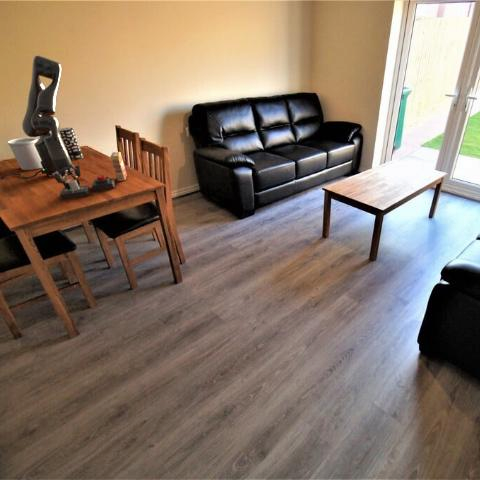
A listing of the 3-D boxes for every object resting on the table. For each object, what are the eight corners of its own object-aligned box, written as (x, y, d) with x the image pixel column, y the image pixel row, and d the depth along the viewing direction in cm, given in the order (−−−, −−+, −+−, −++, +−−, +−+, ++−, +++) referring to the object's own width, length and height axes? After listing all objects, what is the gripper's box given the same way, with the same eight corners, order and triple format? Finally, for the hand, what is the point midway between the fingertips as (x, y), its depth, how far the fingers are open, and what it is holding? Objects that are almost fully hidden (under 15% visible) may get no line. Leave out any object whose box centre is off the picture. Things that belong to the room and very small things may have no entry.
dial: (73, 191, 174) (69, 182, 171) (66, 190, 175) (62, 181, 173) (81, 188, 178) (77, 179, 175) (75, 187, 179) (71, 178, 176)
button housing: (94, 191, 182) (90, 183, 180) (95, 185, 189) (92, 177, 187) (114, 188, 186) (111, 180, 183) (114, 183, 193) (112, 175, 190)
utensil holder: (46, 161, 224) (34, 136, 215) (50, 166, 215) (38, 140, 206) (19, 166, 215) (6, 140, 206) (22, 172, 206) (8, 144, 197)
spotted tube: (73, 155, 235) (62, 127, 225) (85, 155, 236) (75, 127, 225) (67, 159, 228) (55, 130, 218) (79, 159, 229) (68, 130, 218)
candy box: (125, 180, 196) (117, 155, 188) (118, 181, 195) (109, 156, 187) (127, 175, 204) (120, 151, 195) (120, 176, 202) (112, 152, 194)
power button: (97, 181, 183) (96, 177, 182) (98, 178, 186) (97, 175, 185) (105, 180, 184) (104, 176, 183) (106, 177, 187) (105, 174, 186)
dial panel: (61, 200, 172) (59, 194, 171) (65, 193, 180) (62, 187, 178) (88, 196, 177) (86, 190, 175) (90, 189, 184) (88, 184, 183)
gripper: (67, 152, 174) (80, 181, 183) (40, 160, 162) (55, 191, 171) (78, 153, 172) (90, 183, 181) (51, 161, 160) (66, 193, 169)
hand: (73, 187), depth 176 cm, fingers closed on dial, 5 cm apart
